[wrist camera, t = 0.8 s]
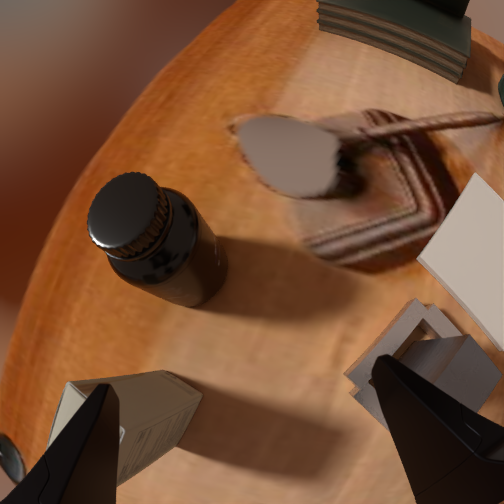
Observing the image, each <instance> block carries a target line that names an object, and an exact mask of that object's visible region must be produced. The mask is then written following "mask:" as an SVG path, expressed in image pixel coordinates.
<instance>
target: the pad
mask: <svg viewBox="0 0 504 504" xmlns="http://www.w3.org/2000/svg"><path fill="white" fill-rule="evenodd" d="M417 260H418V261H419V262H420V263H421V264H422V265H423V266H424V267H425V268H426V269H427V270H428V271H429V272H430V273H431V274H432V275H433V276H434V277H435V278H436V279H437V280H438V281H439V283H440V284H441V285H442V286H443V287H444V288H445V289H446V290H447V291H448V292H449V293H450V294H451V295H452V296H453V297H454V299H455V300H456V301H457V302H458V303H459V304H460V305H461V306H462V307H463V308H464V310H465V311H466V312H467V313H468V314H469V315H470V316H471V318H472V319H473V320H474V321H475V322H476V323H477V325H478V326H479V327H480V328H481V329H482V331H483V332H484V333H485V334H486V335H487V337H488V338H489V339H490V340H491V341H492V343H493V344H494V345H495V346H496V348H497V349H498V350H499V351H504V201H503V200H502V199H501V198H500V197H499V195H498V194H497V193H496V192H495V191H494V190H493V189H492V188H491V187H490V186H489V185H488V184H487V183H486V182H485V181H484V180H483V179H482V178H481V177H480V176H479V175H478V174H476V173H474V174H473V175H472V177H471V179H470V180H469V182H468V184H467V185H466V187H465V189H464V190H463V192H462V193H461V195H460V197H459V198H458V200H457V201H456V203H455V205H454V206H453V208H452V209H451V211H450V212H449V214H448V215H447V217H446V218H445V220H444V221H443V223H442V224H441V226H440V227H439V228H438V230H437V231H436V233H435V234H434V236H433V237H432V238H431V240H430V241H429V243H428V244H427V245H426V247H425V248H424V249H423V251H422V252H421V253H420V255H419V256H418V257H417Z"/></svg>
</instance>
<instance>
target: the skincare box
mask: <svg viewBox="0 0 504 504" xmlns="http://www.w3.org/2000/svg"><path fill="white" fill-rule="evenodd" d="M99 383H109V384H111V385H112V386H113V388H114V390H115V392H116V394H117V396H118V398H119V401H120V445H119V457H118V470H117V487H118V486H119V485H121V484H122V483H124V482H126V481H127V480H129V479H130V478H132V477H133V476H135V475H136V474H138V473H139V472H140V471H142V470H143V469H145V468H146V467H148V466H149V465H150V464H152V463H153V462H155V461H156V460H158V459H159V458H160V457H162V456H163V455H164V454H166V453H167V452H169V451H170V450H171V449H173V448H174V447H175V446H176V445H177V444H178V442H179V440H180V439H181V437H182V435H183V433H184V432H185V430H186V428H187V426H188V424H189V422H190V420H191V419H192V417H193V415H194V413H195V411H196V409H197V407H198V405H199V402H200V400H201V398H202V396H203V394H202V393H201V392H199V391H197V390H196V389H194V388H193V387H191V386H189V385H188V384H186V383H185V382H183V381H182V380H180V379H178V378H177V377H175V376H173V375H172V374H170V373H168V372H167V371H165V370H159V371H152V372H145V373H139V374H132V375H124V376H117V377H108V378H100V379H90V380H80V381H69V382H67V383H66V386H65V388H64V390H63V393H62V396H61V398H60V401H59V404H58V407H57V410H56V413H55V417H54V420H53V424H52V427H51V431H50V435H49V439H48V444H47V448H46V450H47V449H48V447H49V446H50V445H51V443H52V442H53V441H54V440H55V438H56V437H57V436H58V434H59V433H60V432H61V430H62V429H63V428H64V427H65V425H66V424H67V423H68V421H69V420H70V419H71V418H72V416H73V415H74V414H75V412H76V411H77V410H78V409H79V407H80V406H81V405H82V404H83V402H84V401H85V400H86V399H87V397H88V396H89V395H90V394H91V392H92V391H93V390H94V389H95V387H96V386H97V385H98V384H99Z"/></svg>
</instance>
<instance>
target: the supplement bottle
mask: <svg viewBox="0 0 504 504" xmlns="http://www.w3.org/2000/svg"><path fill="white" fill-rule="evenodd" d="M87 225H88V228H87V230H88V231H89V236H90V237H91V238H92V242H93V243H95V244H96V245H97V247H99V248H100V249H102V250H103V251H104V252H105V253H106V254H107V258H108V261H109V263H110V265H111V267H112V269H113V270H114V272H115V273H116V274H117V275H118V276H119V277H120V278H121V279H123V280H124V281H126V282H127V283H129V284H131V285H133V286H135V287H137V288H140V289H142V290H144V291H146V292H148V293H151V294H153V295H155V296H157V297H159V298H162V299H164V300H166V301H169V302H171V303H174V304H176V305H180V306H197V305H200V304H203V303H205V302H207V301H208V300H210V299H211V298H213V297H214V296H215V295H216V294H217V293H218V291H219V290H220V289H221V287H222V286H223V284H224V282H225V279H226V276H227V270H228V260H227V256H226V253H225V250H224V248H223V246H222V245H221V243H220V242H219V240H218V239H217V237H216V236H215V234H214V233H213V232H212V230H211V229H210V227H209V226H208V224H207V223H206V222H205V220H204V219H203V217H202V216H201V214H200V213H199V212H198V210H197V209H196V207H195V206H194V204H193V203H192V202H191V201H190V200H189V199H188V198H187V197H186V196H185V195H184V194H182V193H181V192H179V191H177V190H174V189H171V188H166V187H160V186H158V184H157V183H156V182H155V181H154V180H153V179H152V178H151V177H150V176H147V175H146V174H141V173H140V172H136V173H135V172H130V173H124V174H123V175H119V176H117V177H116V178H113V179H112V180H111V181H110V182H108V183H106V185H105V186H104V187H102V188H101V190H100V191H99V192H98V193H97V194H96V197H95V199H94V200H93V201H92V205H91V207H90V208H89V213H88V220H87Z"/></svg>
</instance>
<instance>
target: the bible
mask: <svg viewBox="0 0 504 504" xmlns="http://www.w3.org/2000/svg"><path fill="white" fill-rule="evenodd" d="M469 1H470V0H316V2H319V8H318V9H317V12H318V13H319V19H318V20H317V23H319V30H321V31H325V32H329V33H333V34H336V35H340V36H343V37H346V38H350V39H353V40H356V41H359V42H362V43H365V44H368V45H371V46H373V47H376V48H379V49H382V50H384V51H387V52H389V53H392V54H394V55H397V56H399V57H402V58H404V59H406V60H409V61H411V62H413V63H415V64H417V65H420V66H422V67H424V68H426V69H428V70H430V71H432V72H434V73H436V74H438V75H440V76H442V77H444V78H446V79H448V80H449V81H451V82H453V83H455V84H457V82H458V80H459V78H462V74H463V68H465V69H466V65H467V58H468V57H469V58H470V51H471V19H470V18H469V17H467V16H465V15H464V14H465V11H466V9H467V6H468V3H469Z"/></svg>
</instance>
